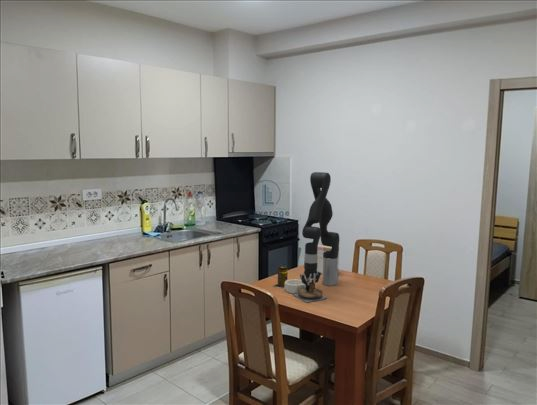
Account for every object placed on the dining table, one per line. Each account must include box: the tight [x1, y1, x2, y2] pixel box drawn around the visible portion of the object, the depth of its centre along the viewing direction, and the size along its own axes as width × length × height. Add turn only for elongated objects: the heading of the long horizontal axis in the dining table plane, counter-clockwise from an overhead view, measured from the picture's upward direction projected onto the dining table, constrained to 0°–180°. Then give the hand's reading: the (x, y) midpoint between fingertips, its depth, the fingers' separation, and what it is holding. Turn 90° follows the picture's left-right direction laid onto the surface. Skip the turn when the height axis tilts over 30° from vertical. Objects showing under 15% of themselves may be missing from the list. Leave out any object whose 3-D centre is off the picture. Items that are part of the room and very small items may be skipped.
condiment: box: [272, 265, 288, 289], centre depth 262 cm, size 7×8×12 cm
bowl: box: [283, 278, 306, 295], centre depth 255 cm, size 12×12×5 cm
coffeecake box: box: [317, 243, 340, 275], centre depth 290 cm, size 15×7×20 cm, turn 52°
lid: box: [298, 281, 323, 298], centre depth 243 cm, size 14×14×6 cm
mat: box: [292, 294, 328, 304], centre depth 244 cm, size 14×14×1 cm
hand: (310, 290), depth 243 cm, fingers closed on lid, 3 cm apart
